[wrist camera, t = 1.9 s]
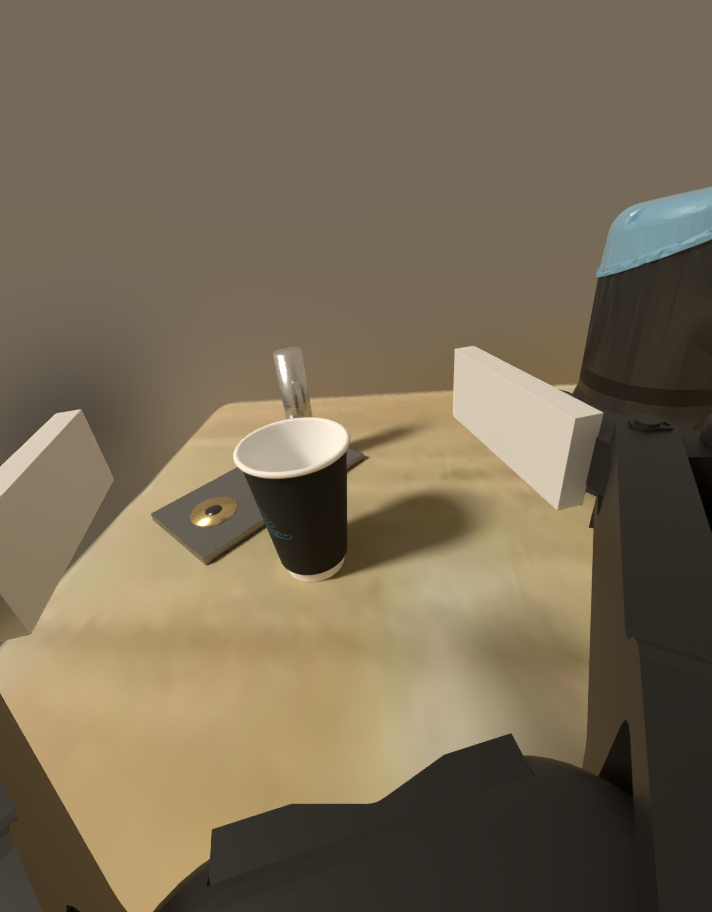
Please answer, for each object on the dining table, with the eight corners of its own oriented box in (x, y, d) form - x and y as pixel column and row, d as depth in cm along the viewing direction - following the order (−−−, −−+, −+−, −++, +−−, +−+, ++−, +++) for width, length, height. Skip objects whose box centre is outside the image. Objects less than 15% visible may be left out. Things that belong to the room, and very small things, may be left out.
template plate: (304, 437, 52) (303, 430, 52) (363, 459, 46) (362, 452, 46) (153, 520, 40) (150, 512, 40) (206, 565, 34) (203, 557, 34)
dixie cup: (248, 589, 31) (208, 468, 26) (291, 522, 38) (267, 414, 32) (346, 607, 29) (325, 479, 23) (374, 533, 35) (363, 418, 30)
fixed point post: (307, 444, 48) (289, 344, 42) (328, 453, 46) (312, 348, 40) (284, 458, 46) (261, 354, 40) (305, 467, 44) (284, 359, 38)
